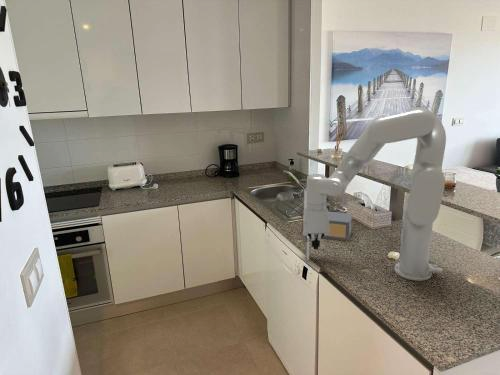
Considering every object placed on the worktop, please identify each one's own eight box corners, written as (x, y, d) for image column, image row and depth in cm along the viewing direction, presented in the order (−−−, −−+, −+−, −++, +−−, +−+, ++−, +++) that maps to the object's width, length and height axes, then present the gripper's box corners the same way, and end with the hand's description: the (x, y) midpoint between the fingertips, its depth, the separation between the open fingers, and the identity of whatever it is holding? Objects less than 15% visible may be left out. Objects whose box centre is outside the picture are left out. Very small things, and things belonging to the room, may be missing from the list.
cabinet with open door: (351, 231, 166) (352, 211, 163) (348, 241, 155) (349, 220, 152) (306, 226, 174) (306, 207, 171) (300, 235, 163) (300, 215, 160)
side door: (309, 260, 138) (309, 242, 136) (305, 260, 139) (305, 242, 136) (309, 235, 162) (309, 219, 159) (306, 235, 162) (306, 219, 160)
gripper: (333, 202, 138) (332, 244, 143) (296, 202, 139) (296, 244, 144) (337, 208, 130) (336, 252, 135) (297, 209, 132) (297, 252, 137)
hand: (315, 248), depth 140 cm, fingers closed
